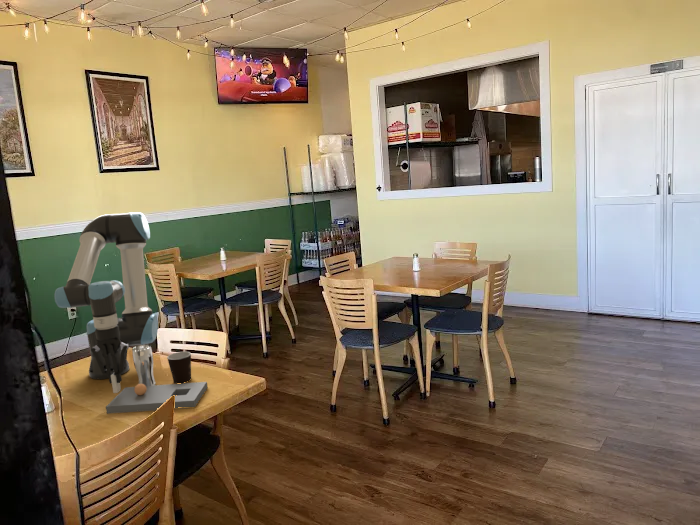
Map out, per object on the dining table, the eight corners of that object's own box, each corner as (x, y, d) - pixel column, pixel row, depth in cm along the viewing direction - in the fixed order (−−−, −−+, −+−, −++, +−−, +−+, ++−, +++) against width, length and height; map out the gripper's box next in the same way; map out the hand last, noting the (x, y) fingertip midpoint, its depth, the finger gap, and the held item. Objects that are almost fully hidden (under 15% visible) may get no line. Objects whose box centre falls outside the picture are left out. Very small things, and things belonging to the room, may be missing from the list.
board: (106, 413, 184) (105, 406, 184) (126, 393, 200) (125, 387, 200) (194, 407, 183) (194, 400, 183) (207, 388, 199) (206, 381, 199)
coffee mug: (187, 385, 204) (183, 359, 202) (166, 384, 206) (162, 359, 204) (201, 373, 215) (198, 348, 213) (181, 372, 217) (178, 348, 215)
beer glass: (160, 382, 208) (155, 345, 206) (147, 389, 202) (141, 351, 199) (147, 380, 211) (141, 343, 209) (133, 388, 205) (127, 349, 202)
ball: (137, 392, 193) (136, 382, 193) (149, 392, 193) (147, 381, 193) (133, 397, 190) (131, 386, 189) (144, 396, 189) (143, 386, 189)
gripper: (82, 331, 184) (93, 397, 188) (120, 328, 183) (131, 394, 187) (93, 324, 191) (103, 388, 195) (129, 322, 191) (139, 385, 195)
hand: (117, 391), depth 191 cm, fingers closed
